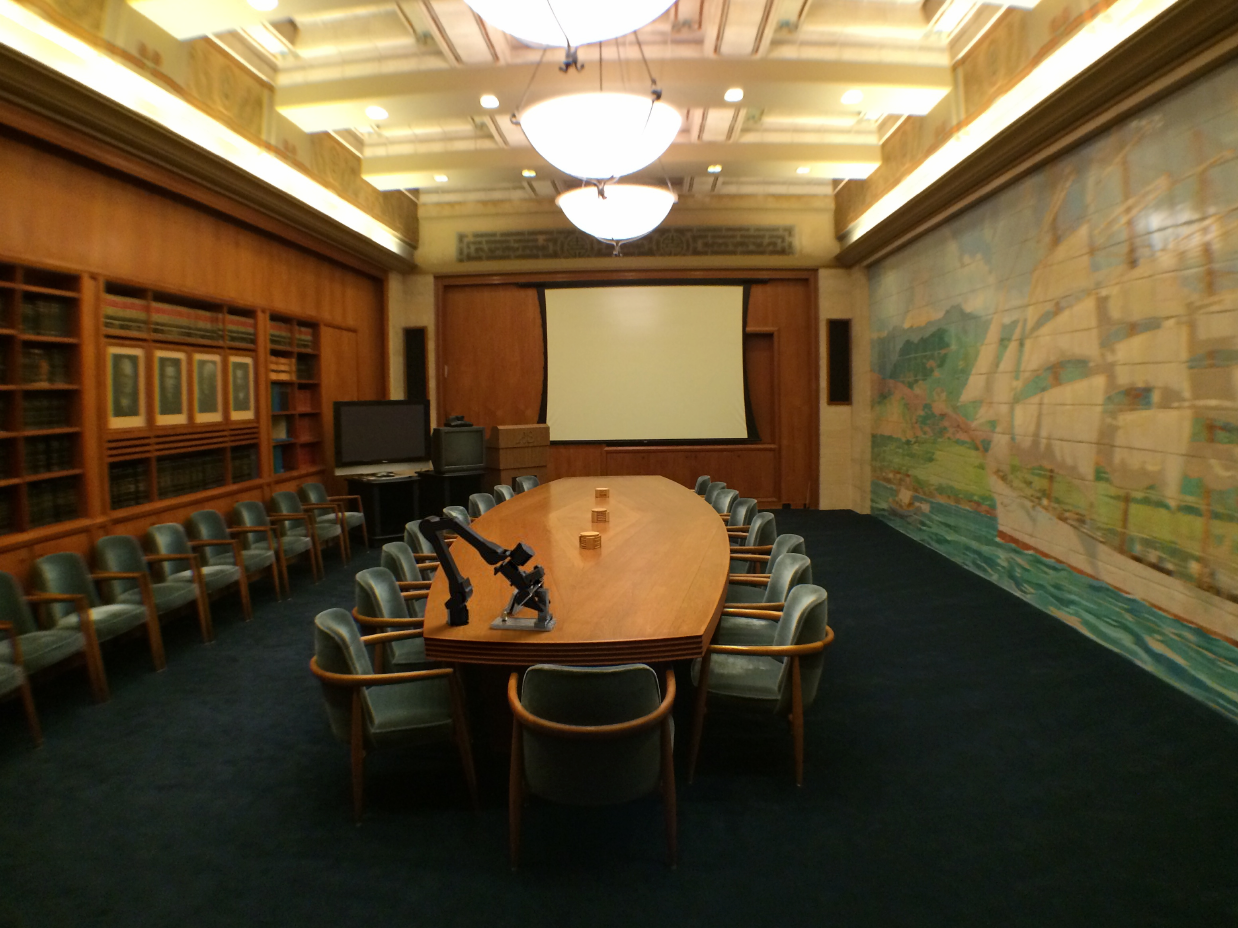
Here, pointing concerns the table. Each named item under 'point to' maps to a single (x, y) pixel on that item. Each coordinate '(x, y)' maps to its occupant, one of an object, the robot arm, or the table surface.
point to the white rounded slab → (513, 604)
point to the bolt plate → (519, 623)
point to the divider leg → (544, 602)
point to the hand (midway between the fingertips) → (546, 607)
